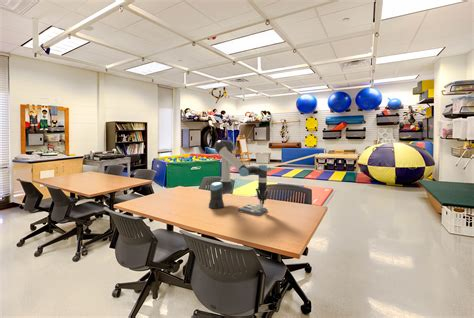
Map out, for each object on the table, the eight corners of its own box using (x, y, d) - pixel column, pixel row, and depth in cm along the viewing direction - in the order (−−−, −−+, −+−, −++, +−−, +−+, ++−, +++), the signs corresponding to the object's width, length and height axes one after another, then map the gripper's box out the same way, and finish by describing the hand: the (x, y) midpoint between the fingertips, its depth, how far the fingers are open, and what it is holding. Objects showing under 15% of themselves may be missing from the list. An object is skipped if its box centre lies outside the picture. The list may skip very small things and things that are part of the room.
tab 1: (251, 210, 220) (251, 205, 219) (253, 209, 223) (253, 204, 222) (255, 211, 217) (255, 206, 217) (257, 210, 221) (257, 205, 220)
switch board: (237, 211, 226) (237, 208, 225) (247, 207, 239) (247, 204, 238) (258, 215, 213) (258, 212, 213) (267, 211, 226) (267, 208, 225)
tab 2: (256, 209, 225) (256, 203, 225) (258, 208, 228) (258, 202, 228) (260, 209, 223) (260, 204, 222) (262, 208, 226) (262, 203, 225)
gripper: (254, 181, 222) (253, 207, 224) (266, 183, 215) (266, 209, 217) (258, 180, 228) (257, 205, 231) (270, 182, 221) (270, 207, 223)
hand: (261, 207), depth 224 cm, fingers closed
